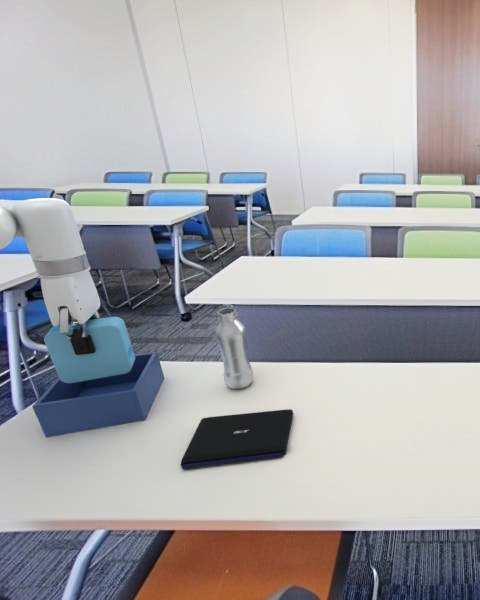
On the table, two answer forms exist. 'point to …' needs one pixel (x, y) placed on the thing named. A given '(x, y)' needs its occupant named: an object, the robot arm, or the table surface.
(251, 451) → the laptop
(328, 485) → the table surface
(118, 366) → the light blue rounded block
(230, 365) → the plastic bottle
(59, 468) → the table surface
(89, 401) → the blue bin
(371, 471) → the table surface
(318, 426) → the table surface
